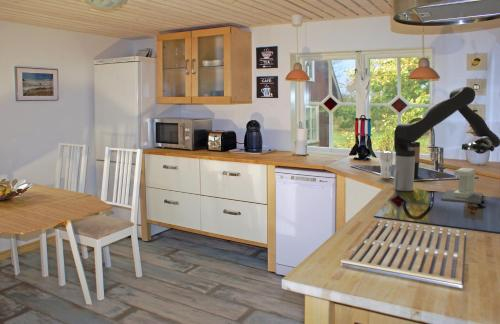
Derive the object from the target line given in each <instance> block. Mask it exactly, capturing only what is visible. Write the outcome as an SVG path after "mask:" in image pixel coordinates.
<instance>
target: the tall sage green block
mask: <svg viewBox="0 0 500 324" xmlns="http://www.w3.org/2000/svg"><path fill="white" fill-rule="evenodd" d="M453 176H458V177H459V178H458V180H459V181H458V189H456V190H455V192H453V197H460V198H468V197H470V196H471V195H473V194H474V191H475V180H476V179H475V178H476V168H471V167H460V168H458V169H456V170H454V175H453Z"/></svg>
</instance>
